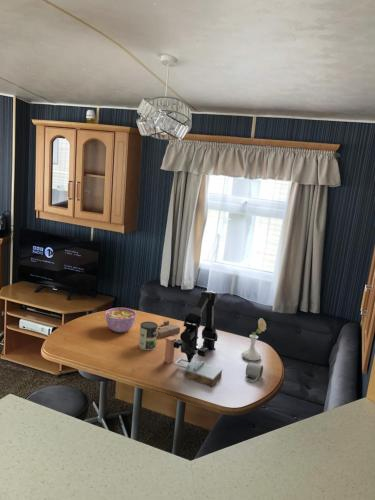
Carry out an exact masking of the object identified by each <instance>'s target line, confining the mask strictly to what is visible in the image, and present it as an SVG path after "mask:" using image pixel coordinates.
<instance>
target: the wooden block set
mask: <svg viewBox="0 0 375 500" xmlns="http://www.w3.org/2000/svg"><path fill="white" fill-rule="evenodd" d="M162 322H163V325H162V326H159V327H157V338H158V339H162V338H167V337H170V336H174V335H177V334H181V333H180V332H181V331H180V330H181V327H180V326H179V325H177V324H174V323H171V324H170V320H168V319H166V317H165V318H163V321H162Z"/></svg>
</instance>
